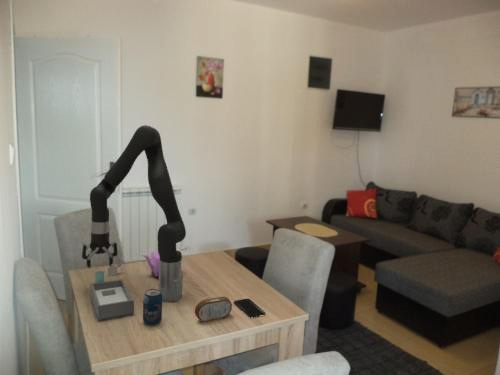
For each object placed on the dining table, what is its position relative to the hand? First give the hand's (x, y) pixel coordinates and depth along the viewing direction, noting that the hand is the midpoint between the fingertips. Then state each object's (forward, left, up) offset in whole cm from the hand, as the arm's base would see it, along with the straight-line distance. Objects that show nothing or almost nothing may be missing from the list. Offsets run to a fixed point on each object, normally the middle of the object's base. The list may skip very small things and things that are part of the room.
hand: (99, 266), depth 166 cm
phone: (-66, -12, -11) cm, 68 cm away
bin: (-14, +10, -11) cm, 21 cm away
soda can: (-36, +14, -11) cm, 41 cm away
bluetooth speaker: (-56, +2, -11) cm, 57 cm away
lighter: (+5, -17, -11) cm, 20 cm away
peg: (0, 0, -11) cm, 11 cm away
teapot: (-15, -27, -11) cm, 33 cm away
